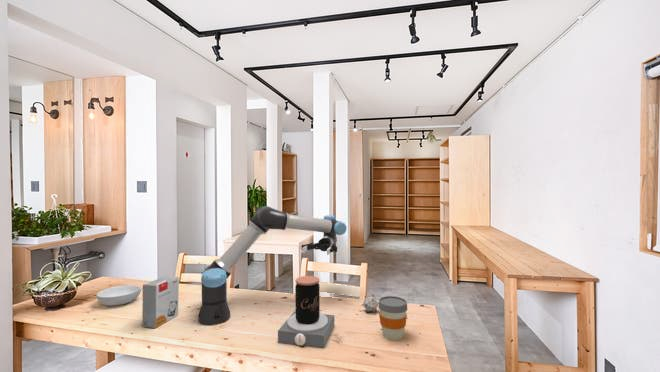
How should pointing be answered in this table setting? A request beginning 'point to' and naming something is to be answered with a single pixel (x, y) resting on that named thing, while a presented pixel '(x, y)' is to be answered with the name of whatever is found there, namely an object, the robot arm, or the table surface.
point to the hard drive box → (160, 301)
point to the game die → (370, 303)
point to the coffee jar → (307, 299)
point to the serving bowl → (118, 294)
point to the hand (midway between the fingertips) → (314, 251)
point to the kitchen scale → (306, 331)
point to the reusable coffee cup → (392, 316)
